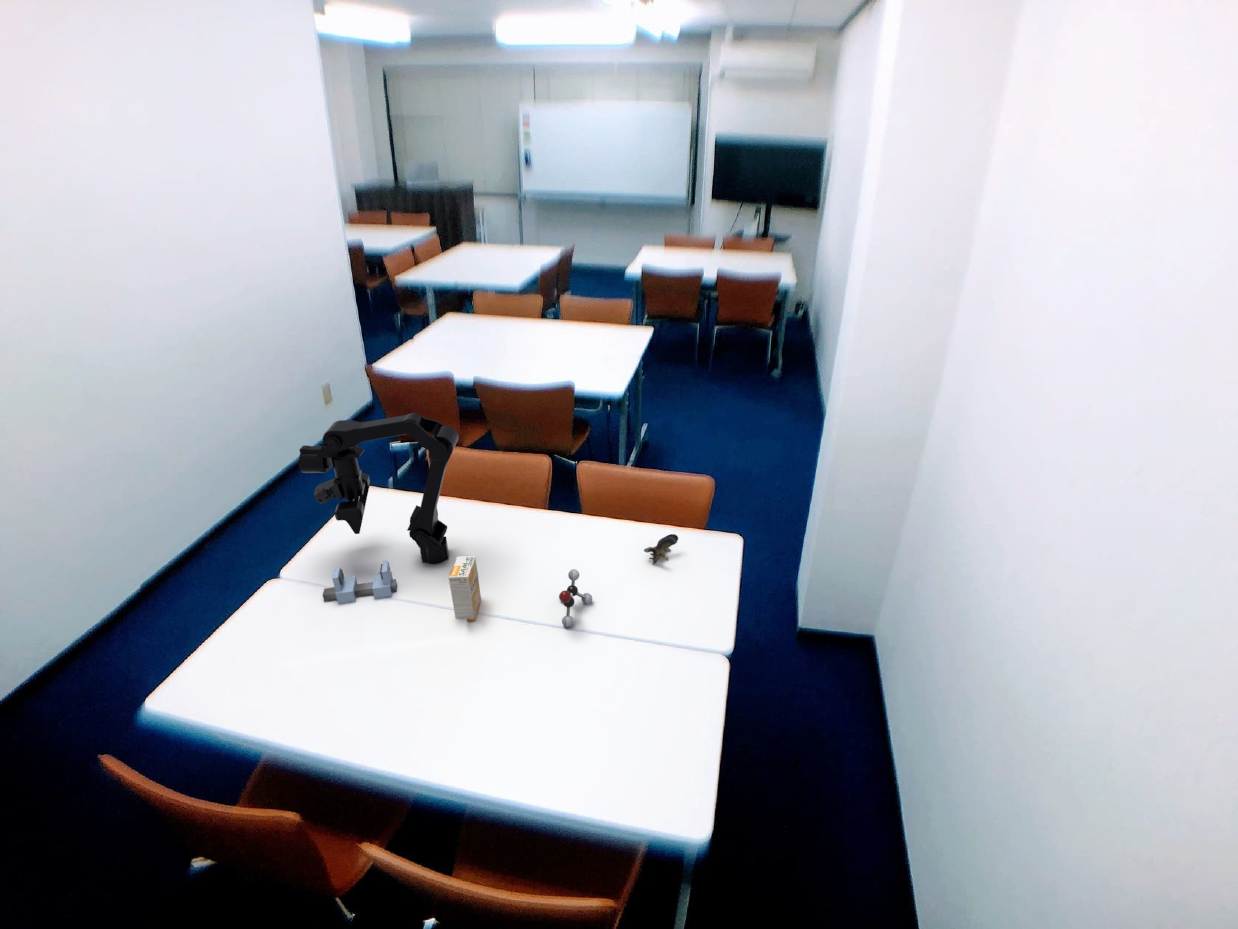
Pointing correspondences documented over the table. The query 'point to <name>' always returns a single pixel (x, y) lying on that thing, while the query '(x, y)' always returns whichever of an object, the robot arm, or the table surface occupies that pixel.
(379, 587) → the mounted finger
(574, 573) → the molecular model
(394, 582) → the rail board
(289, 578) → the table surface
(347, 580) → the notched blue block
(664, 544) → the grey brown irregular piece
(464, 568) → the supplement box
